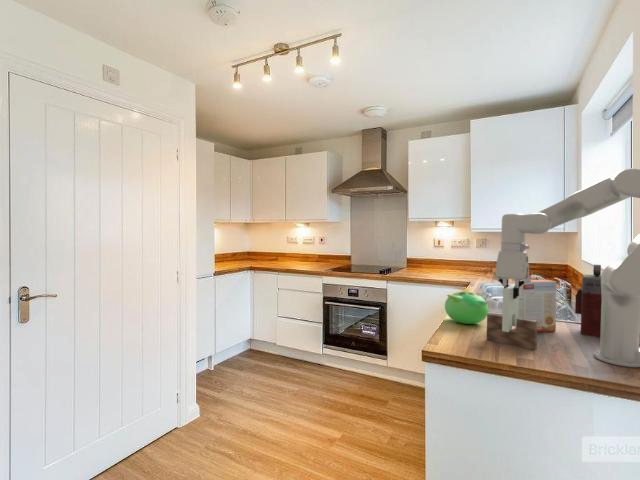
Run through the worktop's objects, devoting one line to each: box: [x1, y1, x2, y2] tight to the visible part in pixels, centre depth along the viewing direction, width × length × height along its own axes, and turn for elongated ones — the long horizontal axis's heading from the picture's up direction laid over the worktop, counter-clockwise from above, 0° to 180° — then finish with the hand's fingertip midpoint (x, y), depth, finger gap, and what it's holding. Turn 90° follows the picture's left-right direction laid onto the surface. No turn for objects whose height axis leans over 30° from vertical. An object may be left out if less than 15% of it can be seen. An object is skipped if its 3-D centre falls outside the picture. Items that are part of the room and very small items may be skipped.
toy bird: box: [444, 289, 489, 325], centre depth 154 cm, size 18×17×15 cm
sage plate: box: [501, 283, 519, 332], centre depth 127 cm, size 2×14×15 cm, turn 138°
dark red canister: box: [574, 264, 602, 338], centre depth 139 cm, size 9×11×28 cm
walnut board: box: [486, 312, 538, 351], centre depth 127 cm, size 16×2×10 cm, turn 48°
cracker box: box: [514, 279, 557, 333], centre depth 144 cm, size 14×6×21 cm, turn 92°
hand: (511, 297), depth 127 cm, fingers closed on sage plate, 2 cm apart
